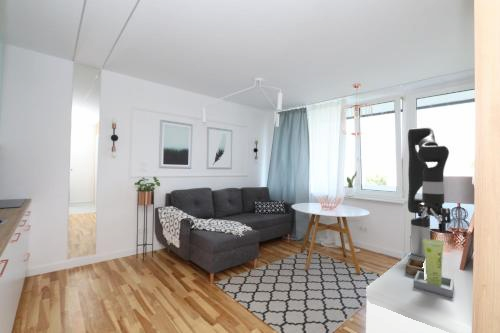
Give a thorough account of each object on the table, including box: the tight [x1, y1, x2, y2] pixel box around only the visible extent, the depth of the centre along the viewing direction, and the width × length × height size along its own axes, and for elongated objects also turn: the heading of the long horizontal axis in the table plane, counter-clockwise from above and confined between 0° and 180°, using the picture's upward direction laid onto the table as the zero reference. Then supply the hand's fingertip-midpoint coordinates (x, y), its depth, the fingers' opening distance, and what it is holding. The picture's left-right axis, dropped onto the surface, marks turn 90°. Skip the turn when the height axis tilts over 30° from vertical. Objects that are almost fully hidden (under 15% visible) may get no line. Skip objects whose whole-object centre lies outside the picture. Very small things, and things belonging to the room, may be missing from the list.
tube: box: [423, 239, 445, 286], centre depth 102 cm, size 6×5×20 cm
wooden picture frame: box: [405, 257, 425, 277], centre depth 115 cm, size 12×12×4 cm
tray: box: [413, 271, 455, 299], centre depth 102 cm, size 13×13×3 cm
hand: (433, 229), depth 102 cm, fingers open, 8 cm apart
